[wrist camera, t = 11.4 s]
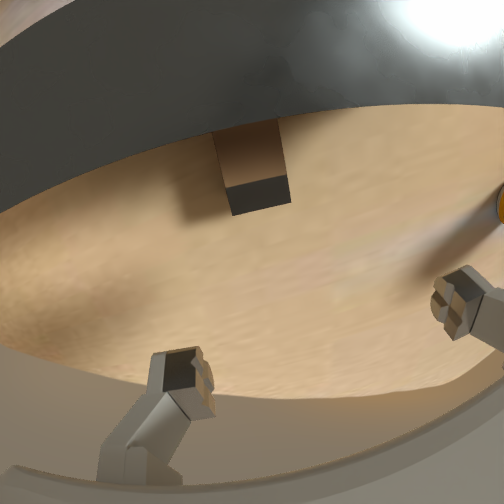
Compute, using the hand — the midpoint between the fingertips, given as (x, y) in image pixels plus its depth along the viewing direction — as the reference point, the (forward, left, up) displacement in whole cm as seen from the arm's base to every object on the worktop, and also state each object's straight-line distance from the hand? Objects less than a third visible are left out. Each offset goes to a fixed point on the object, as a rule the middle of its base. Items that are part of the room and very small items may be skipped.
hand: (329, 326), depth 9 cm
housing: (-9, 0, -16) cm, 18 cm away
